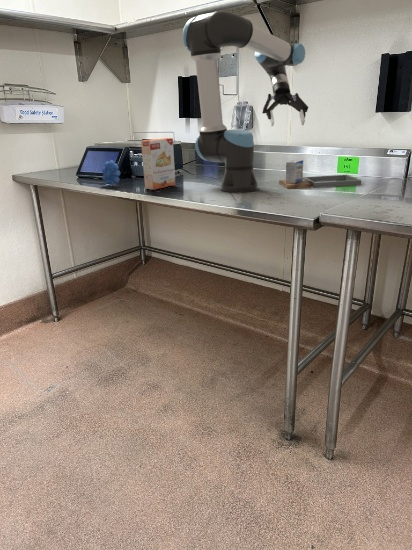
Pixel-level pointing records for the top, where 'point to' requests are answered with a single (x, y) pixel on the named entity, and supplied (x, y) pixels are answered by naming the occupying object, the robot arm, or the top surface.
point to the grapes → (111, 172)
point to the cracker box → (158, 163)
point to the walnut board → (297, 185)
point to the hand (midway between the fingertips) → (288, 123)
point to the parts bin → (349, 182)
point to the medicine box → (294, 171)
